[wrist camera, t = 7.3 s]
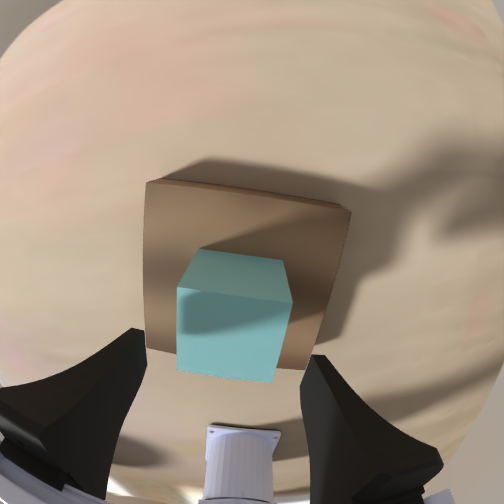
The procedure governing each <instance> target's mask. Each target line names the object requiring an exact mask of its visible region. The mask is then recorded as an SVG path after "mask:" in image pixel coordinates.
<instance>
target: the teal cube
mask: <svg viewBox="0 0 504 504" xmlns="http://www.w3.org/2000/svg"><path fill="white" fill-rule="evenodd" d="M292 304H293V301H292V297H291V292H290V288H289V284H288V280H287V276H286V271H285V267H284V263H283V260H278V259H271V258H263V257H256V256H249V255H241V254H234V253H227V252H220V251H213V250H205V249H198V250H197V252H196V254H195V256H194V257H193V259H192V261H191V263H190V264H189V266H188V268H187V270H186V272H185V273H184V275H183V277H182V279H181V281H180V282H179V284H178V286H177V319H176V338H177V370H181V371H186V372H192V373H198V374H204V375H210V376H217V377H224V378H232V379H240V380H249V381H259V382H270V383H272V381H273V377H274V374H275V370H276V366H277V363H278V359H279V355H280V352H281V348H282V344H283V340H284V336H285V332H286V329H287V325H288V321H289V317H290V312H291V308H292Z"/></svg>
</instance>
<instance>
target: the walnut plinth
mask: <svg viewBox="0 0 504 504" xmlns="http://www.w3.org/2000/svg"><path fill="white" fill-rule="evenodd" d="M350 216H351V212H350V211H348V210H347V209H345V208H344V207H342V206H341V205H339V204H334V203H329V202H323V201H318V200H313V199H307V198H302V197H296V196H290V195H284V194H278V193H272V192H266V191H259V190H252V189H245V188H238V187H231V186H224V185H216V184H208V183H199V182H191V181H181V180H172V179H161V178H159V179H156V180H153V181H149V182H146V191H145V207H144V229H143V295H144V318H145V333H146V346H147V348H150V349H155V350H159V351H164V352H169V353H174V354H177V338H176V319H177V286H178V284H179V282H180V281H181V279H182V277H183V275H184V273H185V272H186V270H187V268H188V266H189V264H190V263H191V261H192V259H193V257H194V256H195V254H196V252H197V250H198V249H205V250H213V251H220V252H227V253H234V254H241V255H249V256H256V257H263V258H271V259H278V260H283V263H284V267H285V271H286V276H287V280H288V284H289V288H290V292H291V297H292V301H293V304H292V308H291V312H290V317H289V321H288V325H287V329H286V332H285V336H284V340H283V344H282V348H281V352H280V355H279V359H278V363H277V366H276V368H282V369H295V370H305V369H306V366H307V364H308V361H309V358H310V355H311V352H312V350H313V347H314V344H315V341H316V338H317V335H318V332H319V329H320V326H321V323H322V319H323V316H324V313H325V310H326V307H327V303H328V300H329V297H330V293H331V290H332V286H333V283H334V279H335V276H336V272H337V269H338V265H339V261H340V257H341V253H342V250H343V246H344V242H345V238H346V233H347V229H348V225H349V221H350Z"/></svg>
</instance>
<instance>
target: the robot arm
mask: <svg viewBox="0 0 504 504" xmlns="http://www.w3.org/2000/svg"><path fill="white" fill-rule="evenodd" d="M146 367H147V357H146V346H145V334H144V330H139V329H135V328H130V329H129V330H128V331H126V332H125V333H123V334H122V335H121V336H119V337H118V338H117V339H115V340H114V341H113V342H111V343H110V344H108V345H107V346H106V347H104V348H103V349H101V350H100V351H98V352H97V353H95V354H94V355H92V356H91V357H89V358H87V359H86V360H84V361H83V362H81V363H79V364H77V365H75V366H73V367H71V368H69V369H67V370H65V371H63V372H61V373H58V374H55V375H53V376H50V377H47V378H45V379H42V380H38V381H35V382H31V383H27V384H22V385H17V386H10V387H2V388H0V432H1V433H2V434H3V436H4V437H5V438H4V440H3V441H1V440H0V500H1V501H2V502H4V503H5V504H112V503H109V502H107V501H104V500H105V498H106V490H107V484H108V477H109V473H110V468H111V463H112V459H113V455H114V451H115V447H116V443H117V440H118V437H119V433H120V430H121V427H122V425H123V422H124V420H125V417H126V415H127V413H128V411H129V409H130V407H131V405H132V402H133V400H134V398H135V396H136V394H137V392H138V390H139V388H140V385H141V383H142V380H143V377H144V374H145V371H146ZM300 401H301V410H302V415H303V421H304V426H305V431H306V437H307V442H308V448H309V457H310V504H455V502H454V500H453V497H452V494H451V492H450V489H446V490H443V491H441V492H439V493H436V494H434V495H431V496H429V497H427V498H425V499H423V498H422V495H421V494H423V493H424V492H425V490H424V487H423V485H425V484H426V483H427V482H428V481H430V480H431V479H432V478H433V477H435V476H436V475H437V474H438V473H439V472H440V471H441V470H442V468H443V465H444V463H443V461H442V459H441V457H440V454H439V452H438V450H437V448H435V447H432V446H430V445H428V444H425V443H423V442H421V441H418V440H416V439H415V438H413V437H411V436H409V435H407V434H405V433H404V432H402V431H400V430H399V429H397V428H396V427H394V426H393V425H392V424H390V423H389V422H387V421H386V420H385V419H383V418H382V417H381V416H380V415H378V414H377V413H376V412H375V411H374V410H373V409H371V408H370V407H369V406H368V405H367V404H366V403H365V402H364V401H363V400H362V399H361V398H360V397H359V396H358V395H357V394H356V393H355V392H354V390H353V389H352V388H351V387H350V386H349V385H348V384H347V382H346V381H345V380H344V379H343V377H342V376H341V375H340V374H339V372H338V371H337V370H336V369H335V367H334V366H333V365H332V364H331V362H330V361H329V360H328V358H327V357H326V356H325V355H313V354H312V355H311V357H310V360H309V363H308V366H307V369H306V371H305V374H304V377H303V379H302V382H301V385H300ZM280 437H281V432H280V431H270V430H255V429H244V428H234V427H226V426H218V425H208V429H207V442H206V457H205V460H206V461H207V468H206V476H205V484H204V491H203V499H202V500H199V501H198V504H276V503H274V492H273V465H272V454H273V452H274V450H275V448H276V445H277V443H278V441H279V439H280Z"/></svg>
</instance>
